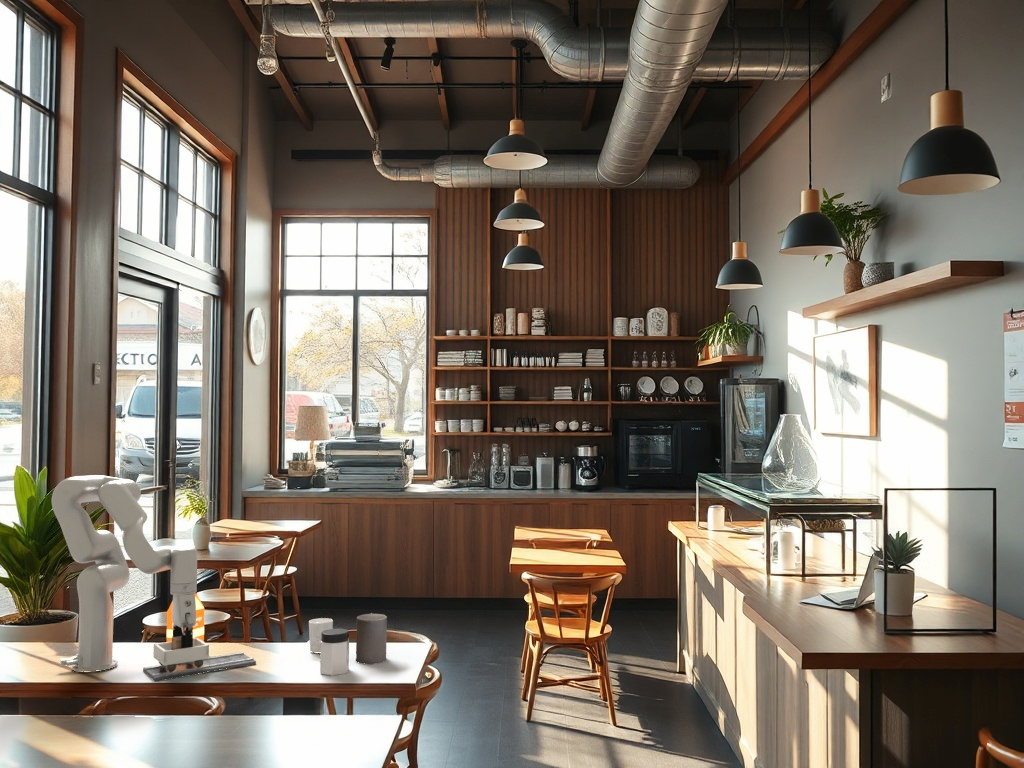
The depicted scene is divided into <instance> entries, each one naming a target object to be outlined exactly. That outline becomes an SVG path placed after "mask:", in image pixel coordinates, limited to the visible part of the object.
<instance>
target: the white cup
mask: <svg viewBox="0 0 1024 768" xmlns="http://www.w3.org/2000/svg"><path fill="white" fill-rule="evenodd" d="M333 626H334V620H333V619H332V618H328V617H327V618H326V617H324V618H323V617H320V618H313V619H310V620H309V621H308V634H309V635H308V638H309V644H310V645H309V647H310V649H309V651H312V652H321V633H322V631H324V630H328V629H334V628H333ZM312 652H311V653H312Z"/></svg>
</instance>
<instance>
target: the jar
mask: <svg viewBox="0 0 1024 768" xmlns="http://www.w3.org/2000/svg"><path fill="white" fill-rule="evenodd" d="M349 637H350V635H349V630H348V629H345V628H333V629H328V630H324V631H322V633H321V653H319V654H320V658H319V661H320V662H319V664H320V665H319V668H320V669H319V671H320V672H319V673H320V674H321V675H326V676H332V677H333V676H340V675H346V674H347V673H348V671H349V669H350V661H349V660H350V638H349Z"/></svg>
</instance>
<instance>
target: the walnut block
mask: <svg viewBox="0 0 1024 768" xmlns="http://www.w3.org/2000/svg"><path fill="white" fill-rule="evenodd" d="M175 649H182V648H181V636H178V637H172V644H171V650H175Z"/></svg>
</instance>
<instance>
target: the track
mask: <svg viewBox="0 0 1024 768" xmlns="http://www.w3.org/2000/svg"><path fill="white" fill-rule="evenodd" d="M202 660H203V665H202V666H201V667H196V666H195V665H194V661H190V662H183V663H177V664H175V665H176V669H175V670H174V671H173V672H170V671H168V670H167V665H165V666H164V665H161V664H158V665H151V666H145V667H142V671H143V673H144V674H146V675H147V676H148V677H149V678H150V679H151V680H153V682H160V680H161V681H165V679H167V680H171V678H172V679H176V677H178V678H183V677H182V676H184V677H188V675H190V676H195V674H196V675H199V674H198V673H202V674H204V673H203V672H207V671H214V670H219V669H226V668H227V669H226V670H229V669H228V668H232V669H235V668H234V667H238V668H242V667H241V666H244V667H248V666H255V665H256V664H257V661H256V660H255V659H254V657H250V656H248V655H247V654H245V653H244V652H243V651H242V652H234V653H227V654H221V655H216V656H215V655H214V656H209V659H202ZM247 665H248V666H247ZM214 672H215V671H214Z"/></svg>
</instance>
